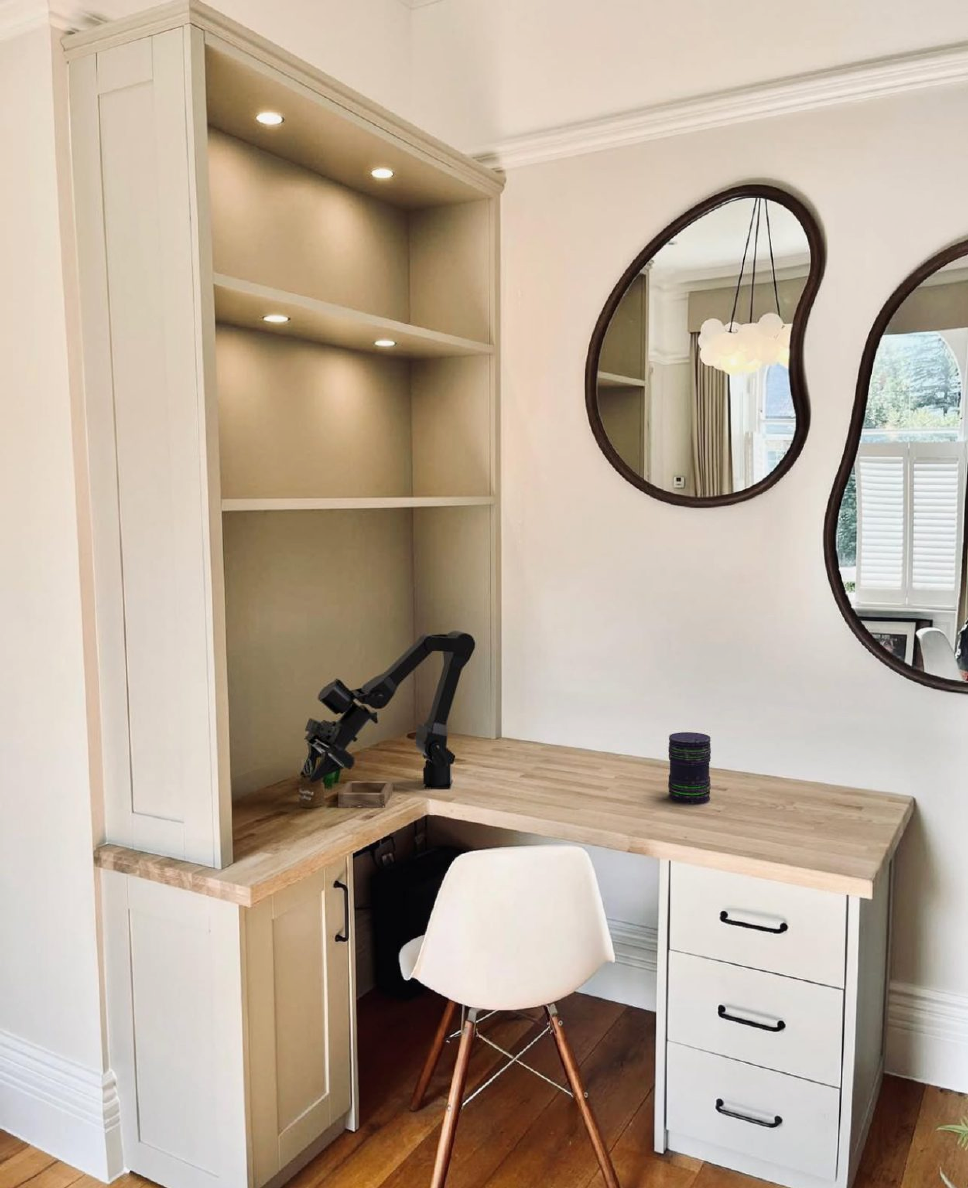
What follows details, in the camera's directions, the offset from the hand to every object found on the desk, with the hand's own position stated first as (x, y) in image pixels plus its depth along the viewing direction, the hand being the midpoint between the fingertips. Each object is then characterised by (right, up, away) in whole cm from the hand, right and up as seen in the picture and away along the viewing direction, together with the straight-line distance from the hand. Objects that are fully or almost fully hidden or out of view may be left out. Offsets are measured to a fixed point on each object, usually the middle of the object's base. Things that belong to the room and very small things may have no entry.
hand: (306, 778), depth 236 cm
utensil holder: (+1, -7, +1) cm, 7 cm away
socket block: (+14, -6, +4) cm, 16 cm away
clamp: (+2, -5, +18) cm, 19 cm away
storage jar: (+91, -6, +3) cm, 91 cm away
